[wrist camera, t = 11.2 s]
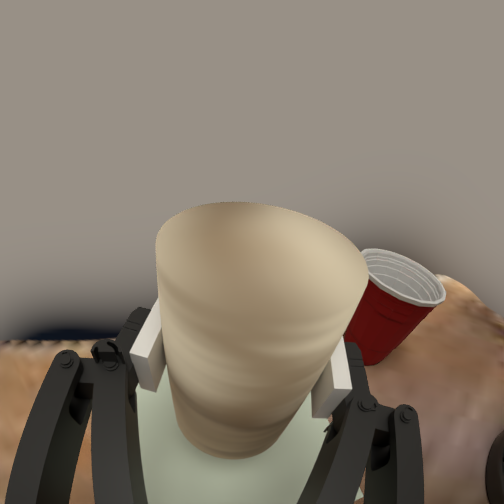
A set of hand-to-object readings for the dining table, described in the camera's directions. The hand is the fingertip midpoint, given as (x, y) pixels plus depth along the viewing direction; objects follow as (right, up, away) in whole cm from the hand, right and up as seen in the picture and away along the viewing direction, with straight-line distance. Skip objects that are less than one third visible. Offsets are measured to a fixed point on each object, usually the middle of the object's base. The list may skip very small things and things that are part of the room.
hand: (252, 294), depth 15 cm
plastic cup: (+14, -10, +16) cm, 23 cm away
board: (-2, -14, +4) cm, 15 cm away
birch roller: (-1, -8, 0) cm, 8 cm away
